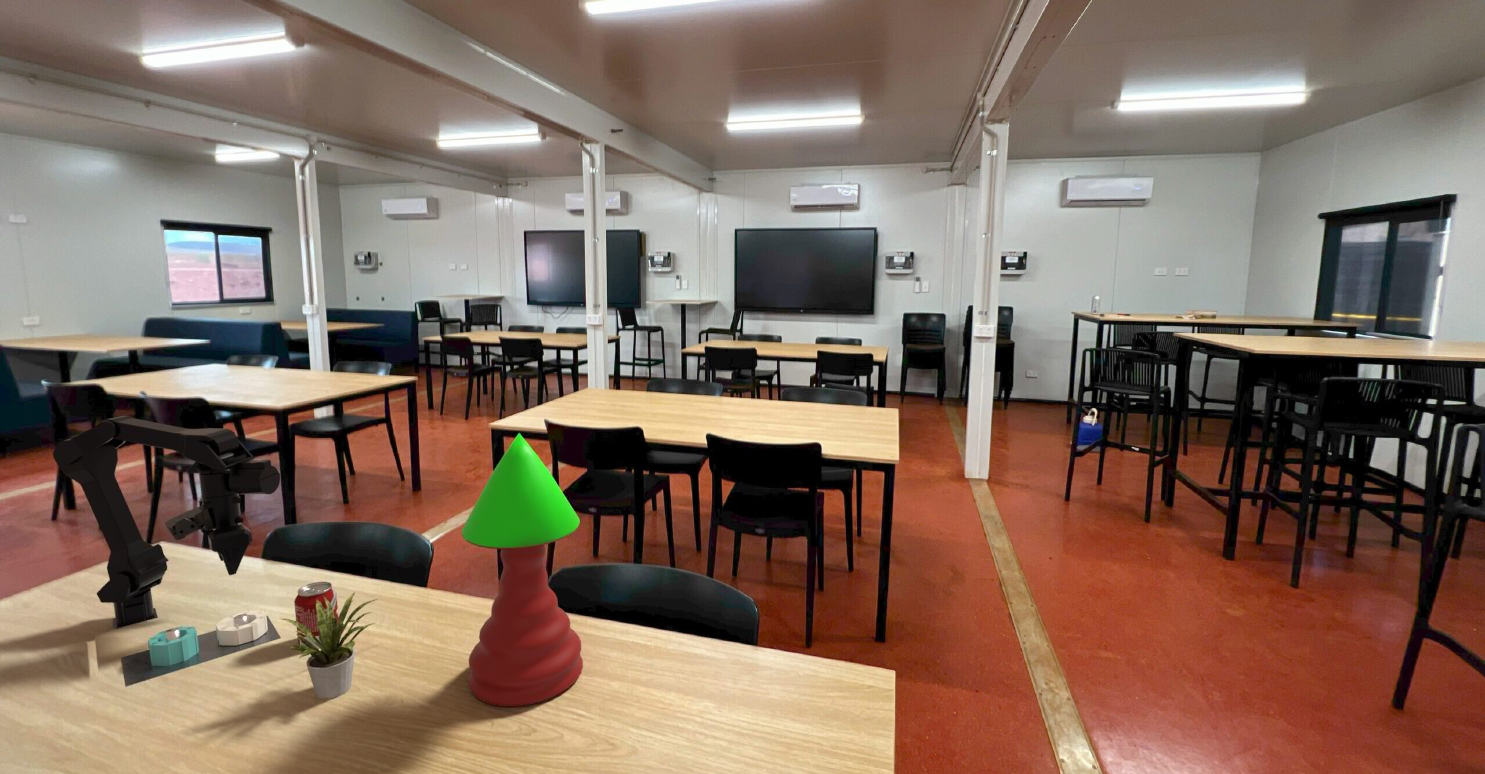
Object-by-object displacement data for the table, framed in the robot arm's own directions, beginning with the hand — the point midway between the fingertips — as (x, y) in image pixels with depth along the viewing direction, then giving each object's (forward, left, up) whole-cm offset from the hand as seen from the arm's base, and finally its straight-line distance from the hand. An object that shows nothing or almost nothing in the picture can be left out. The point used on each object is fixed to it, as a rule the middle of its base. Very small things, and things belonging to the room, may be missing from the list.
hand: (228, 567), depth 132 cm
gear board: (+10, -6, -12) cm, 17 cm away
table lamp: (+58, +34, -12) cm, 68 cm away
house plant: (+40, +9, -12) cm, 43 cm away
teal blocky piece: (+10, -10, -11) cm, 18 cm away
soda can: (+22, +10, -12) cm, 27 cm away
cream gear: (+10, 0, -11) cm, 15 cm away
